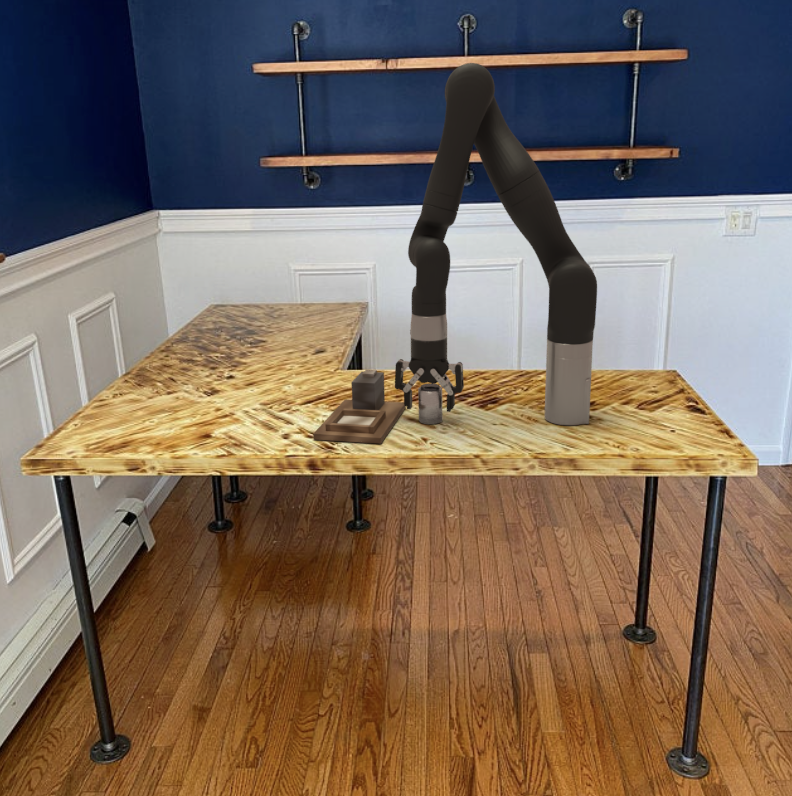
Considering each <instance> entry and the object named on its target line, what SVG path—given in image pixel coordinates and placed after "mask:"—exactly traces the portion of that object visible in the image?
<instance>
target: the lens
mask: <svg viewBox="0 0 792 796" xmlns="http://www.w3.org/2000/svg"><path fill="white" fill-rule="evenodd" d="M417 390H418V392H417V393H418V400H417V401H418V422H419V423H421V424H423V425H424V424H425V425H436V424H440V423H442V422H443V388H442V387H441V385H440V384H439V383H438V384H437V383H436V384H432V383H422V384H421V385H420V387H418V388H417Z"/></svg>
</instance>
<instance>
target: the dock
mask: <svg viewBox="0 0 792 796" xmlns="http://www.w3.org/2000/svg"><path fill="white" fill-rule="evenodd" d="M385 395H386V394H385V373H384V371H383V372H380V371H379V372H378V370H377V369H365V370H364V371H360V373H359V374H358V375H357V376H356V377H355V378H354V379H353V380H352V381H351V399H348V398H347V399H344V400H343V401H342V402H341V403H340V404H339V405H338V406H337V407H336V408H335V409H334V411H333V412H332V413H331V414H330V415H329V416H328V417H327V418H326V419H325V420H324V422H322V423H321V425H319V427H318V428H317V429H316V430H315V431H314V432H313V433H312V437H313V440H317V441H319V440H320V441H333V442H335V441H337V442H348V443H349V442H350V443H365V444H366V443H367V444H382V443H383V442H384V440H385V438H386V437H387V436H388V434H389V433H390V431H391V430H392V428H393V427H394V426H395V424H396V423H397V421H398V419H400V417H401V415H402V414H403V412H404V411H405V409H407V407H406V406H405V405H404V401H403V402H402V401H387V400H385V398H386V397H385Z"/></svg>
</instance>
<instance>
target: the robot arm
mask: <svg viewBox="0 0 792 796" xmlns="http://www.w3.org/2000/svg"><path fill="white" fill-rule="evenodd" d="M495 87H496V86H495V81H494V78H493V76H492V74H491V72H490V71H489V70H488V69H487V68H486V67H485V66H484V65H482V64H479V63H476V62H468V63H467V62H466V63H464V64H461V65H459V66H457V67H456V68H455V69H454V70H453V71H452V72H451V73H450V75H449V76H448V78H447V81H446V83H445V87H444V98H445V102H446V106H445V115H444V122H443V129H442V135H441V138H440V143H439V146H438V148H437V149H438V150H437V152H436V153H437V154H436V157H435V159H434V162H433V164H432V168H431V171H430V175H429V178H428V181H427V186H426V190H425V193H424V197H423V201H422V205H421V206H422V207H421V212H420V214H419V217H418V219H417V221H416V223H415V226H414V229H413V231H412V234H411V236H410V240H409V243H408V248H407V249H408V251H407V255H408V260H409V261H410V264H412V266H413V267H414V268H415V270H416V271H415V273H416V274H415V285H414V287H412V289H411V318H410V319H411V320H410V330H409V331H410V332H409V334H410V360H409V361H407V360H404V359H401V358H400V359H398V361H397V362H396V363H395V373H394V375H395V377H394V388H395V389H396V390H400V391H402V392H403V402H404V405H405V406H406V409H407V410H411V409H412V407H413V390H412V387H414V385H415V384H416V383H417V382H420V383H421V384H437V383H438V385H439V386H440V387H442V389H444V391H445V392H446V393H447V394H446V412H447V413H451V412H452V410H453V409H454V407H455V403H456V402H455V401H456V397H455V396H456V394H460V393H462V392H463V390H464V388H465V384H464V368H463V367H464V366H463V365H464V364H463V363H462V362H461V361H458V362H457V363H449V360H448V319H447V286H448V283H449V277H450V272H451V253H450V249H449V247H448V245H447V244H446V243H445V239H446V235H447V233H448V229H449V227H451V226H453V225H454V224H455V222H456V218H457V216H458V211H459V208H460V205H461V204H460V203H461V200H462V196H463V192H464V189H465V188H464V187H465V183H466V179H467V173H468V168H469V164H470V159H471V155H472V151H473V147H474V146H475V148H476V151H477V152H478V155H479V158H480V160H481V163H482V165H483V167H484V170H485V172H486V175H487V176H488V178H489V181H490V183H491V185H492V187H493V189H494V192H495V193H496V195H497V196H498V199H499V201H500V202H501V205H502V206H503V208H504V210H505V211H506V213H507V215H508V216H509V218H510V219H511V221H512V222H513V224H514V225H515V227H516V228H517V229H518V230H519V232H520V233H521V234H522V236H523V237H524V238H525V239H526V241H527V242H528V243H529V245H530V246H531V248H532V249H533V251H534V253H535V255H536V256H537V259H538V261H539V264H540V266H541V268H542V270H543V272H544V276H545V278H546V281H547V284H548V288H549V289H548V315H547V317H548V318H547V327H546V329H547V331H546V355H545V356H546V363H545V388H544V389H545V396H544V419H545V420H546V421H547V422H549V423H552V424H555V425H561V426H578V425H584V424H585V425H589V424H590V409H591V391H592V390H591V389H592V387H591V386H592V370H593V369H592V365H593V349H594V348H593V346H594V343H593V342H594V331H595V327H596V317H597V316H596V315H597V301H598V280H597V277H596V275H595V272H594V271H593V269H592V268H591V266H590V265H589V264H588V262H587V261H586V260H585V258H584V257H583V255H582V254H581V253H580V251H579V249H578V248H577V247H576V245H575V244H574V242H573V240H572V239H571V238H570V235H569V234H568V232H567V231H566V229H565V226H564V223H563V221H562V218H561V215H560V212H559V209H558V206H557V205H556V202H555V199H554V197H553V194H552V192H551V190H550V188H549V186H548V184H547V182H546V180H545V178H544V176H543V175H542V173H541V171H540V169H539V167H538V165H537V164H536V163H535V161H534V159H533V158H532V156H531V155H530V153H529V152H528V151H527V150H526V148H525V147H524V145H523V144H522V143H521V142H520V141H519V139H518V138H517V137H516V135H514V133H513V132H512V130H511V129H510V127H509V125H508V124H507V122H506V120H505V117H504V115H503V114H502V111H501V109H500V107H499V104H498V102H497V100H496V97H495V91H496V90H495ZM407 369H409V370H410V371H411V373H412V374H413V376H412V377H411V378H410V379H409V381H408V382H407V383H405V382H404V372H405V371H406V370H407ZM449 370H450V371H451V374H452V375H454V378H455V385H453V383H452V382H451V380H450V378H449V376H448V375H447V372H449Z"/></svg>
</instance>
